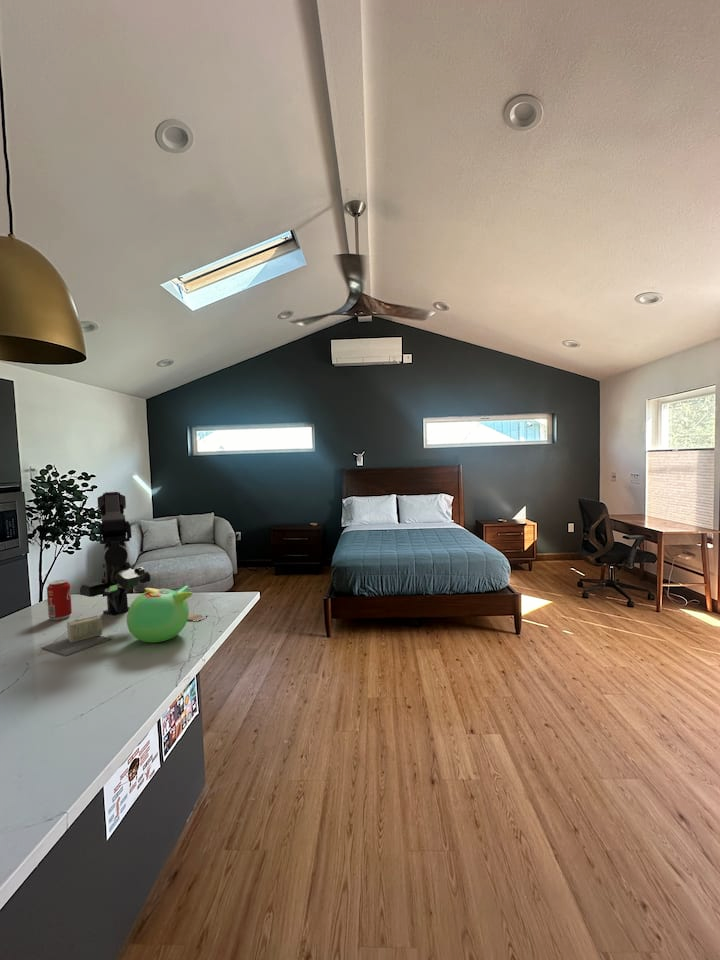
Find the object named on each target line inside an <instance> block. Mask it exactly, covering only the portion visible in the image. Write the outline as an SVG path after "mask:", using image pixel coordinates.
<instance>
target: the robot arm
mask: <svg viewBox="0 0 720 960" xmlns="http://www.w3.org/2000/svg"><path fill="white" fill-rule="evenodd" d="M126 500H127V499H126V496H125V495H123V494H121V492H120V491H111V492H110V491H109V492H108V491H106V492H103V493H102V495H99V496H98V497H97V510H98V512H100V516H101V522H99V524H98V526H99V544H100V545H103V544H104V545H103V551H104V555H103V557H104V563H103V564H102V568H103V569H104V572H103V578H101V582H96V581H93V582H87V583H84V584H82V585H81V587H80V588H79V595H80V596H85V597H89V598H94V597H97V596H100V595H102V597H103V598H104V597H106V603H107V609H105V610H103V611H102V612H103V614H109V615H113V616H114V615H115V616H116V615H119V614H122V613H125V612H128V610H129V608H130V606H129V603H128V593H132V592H133V590H134V587H137V586H138V585H139V583H141V584H144V583H149V582H151V581H152V579H151V578H152V577H151V574H150V573H149V571H145V568H144V567H143V566H141V567H139V566H138V567H137V568H134V569H132V568H131V564H130V562H129V561H128V560H127V559H128V551H127V543H126V542H130V541H131V539H132V527H131V524H130V521H128V520H126V515H125V514H124V513H125V511H124V510H126V508H127V505H126V504H127V503H126Z"/></svg>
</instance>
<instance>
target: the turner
mask: <svg viewBox="0 0 720 960" xmlns="http://www.w3.org/2000/svg"><path fill="white" fill-rule="evenodd" d="M201 615H202V614H197V613H196V614H195V613H193V614H192V613H190V614H189V615H188V620H196V621H197V620H198V621H199V620H201V619H202V618H203V616H201ZM196 621H195V622H196ZM201 621H202V620H201Z"/></svg>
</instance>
